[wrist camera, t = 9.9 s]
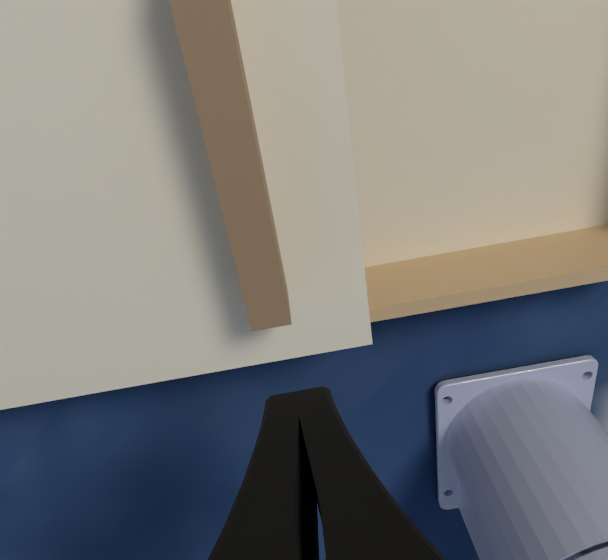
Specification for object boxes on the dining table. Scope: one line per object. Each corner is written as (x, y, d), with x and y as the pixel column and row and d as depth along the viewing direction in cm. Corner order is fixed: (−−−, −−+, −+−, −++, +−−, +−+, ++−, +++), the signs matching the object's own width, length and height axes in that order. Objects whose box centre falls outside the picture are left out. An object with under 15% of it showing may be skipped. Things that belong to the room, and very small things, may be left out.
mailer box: (635, 227, 22) (697, 264, 19) (176, 308, 22) (163, 359, 19) (727, -255, 14) (854, -321, 11) (30, -133, 14) (-30, -168, 11)
